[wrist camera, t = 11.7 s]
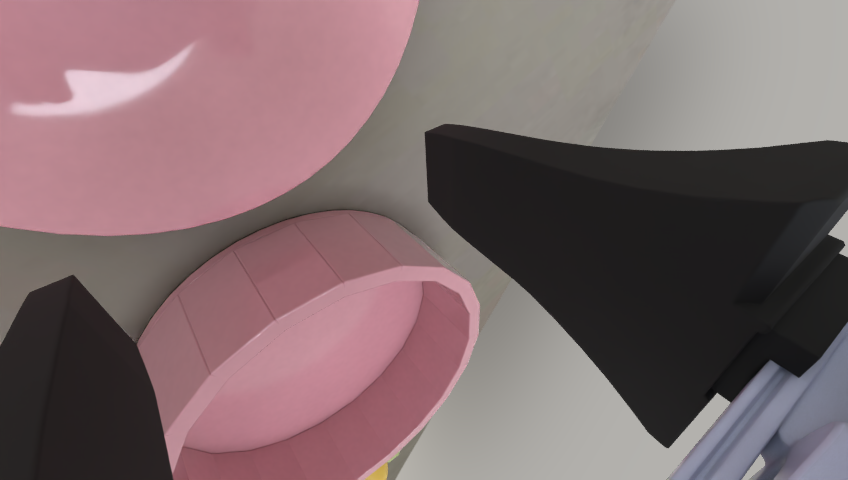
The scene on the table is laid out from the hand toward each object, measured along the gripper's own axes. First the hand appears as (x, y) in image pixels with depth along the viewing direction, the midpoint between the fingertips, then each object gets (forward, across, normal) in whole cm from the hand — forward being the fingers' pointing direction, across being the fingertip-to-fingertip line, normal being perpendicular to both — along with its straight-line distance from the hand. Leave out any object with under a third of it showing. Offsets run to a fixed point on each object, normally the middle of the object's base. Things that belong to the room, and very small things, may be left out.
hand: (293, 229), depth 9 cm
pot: (+8, -1, +15) cm, 17 cm away
